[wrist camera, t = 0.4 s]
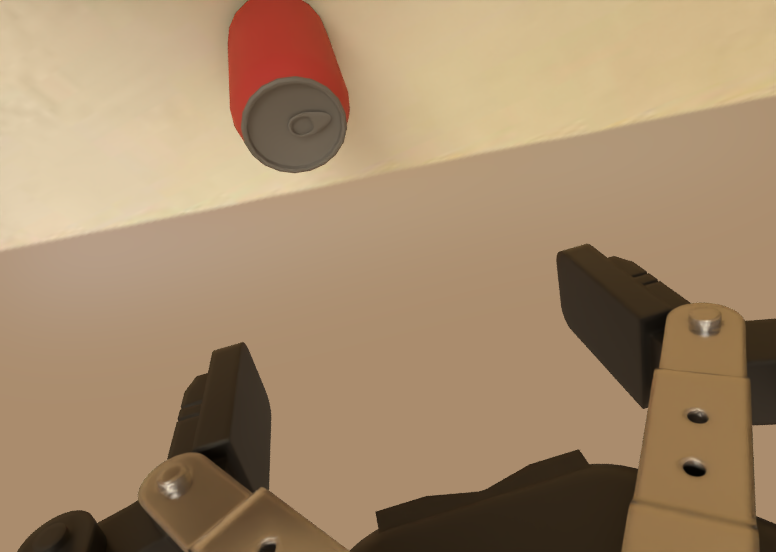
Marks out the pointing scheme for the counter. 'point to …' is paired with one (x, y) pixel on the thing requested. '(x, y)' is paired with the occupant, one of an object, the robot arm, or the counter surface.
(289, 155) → the beer can
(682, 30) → the counter surface
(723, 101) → the counter surface
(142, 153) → the counter surface
